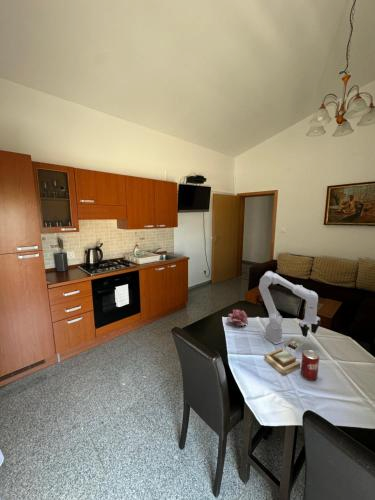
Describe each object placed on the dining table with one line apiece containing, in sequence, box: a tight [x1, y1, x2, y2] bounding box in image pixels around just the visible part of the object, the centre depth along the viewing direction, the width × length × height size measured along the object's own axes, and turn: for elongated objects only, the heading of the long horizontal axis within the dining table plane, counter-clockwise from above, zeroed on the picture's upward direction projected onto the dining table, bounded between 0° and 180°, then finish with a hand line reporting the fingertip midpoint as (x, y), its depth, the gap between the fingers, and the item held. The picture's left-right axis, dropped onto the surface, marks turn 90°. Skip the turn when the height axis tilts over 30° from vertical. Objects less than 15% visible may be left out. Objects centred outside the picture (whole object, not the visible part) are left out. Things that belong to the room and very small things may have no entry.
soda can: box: [300, 349, 320, 381], centre depth 105 cm, size 7×7×12 cm
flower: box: [226, 309, 249, 328], centre depth 155 cm, size 15×15×10 cm
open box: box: [273, 349, 297, 368], centre depth 115 cm, size 7×9×4 cm
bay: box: [263, 348, 302, 376], centre depth 114 cm, size 13×12×3 cm
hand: (309, 334), depth 124 cm, fingers open, 7 cm apart
